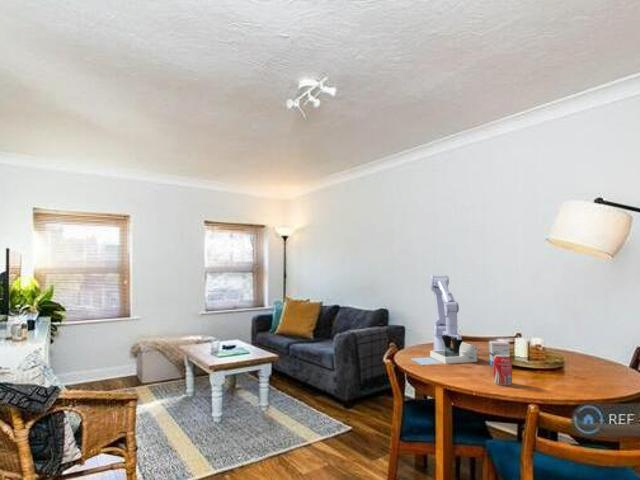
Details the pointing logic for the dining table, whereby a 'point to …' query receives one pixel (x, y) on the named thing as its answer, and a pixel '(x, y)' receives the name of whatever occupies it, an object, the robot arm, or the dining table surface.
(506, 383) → the soda can
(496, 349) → the ink box
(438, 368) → the dining table surface
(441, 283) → the robot arm
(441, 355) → the case
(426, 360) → the mat
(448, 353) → the block
